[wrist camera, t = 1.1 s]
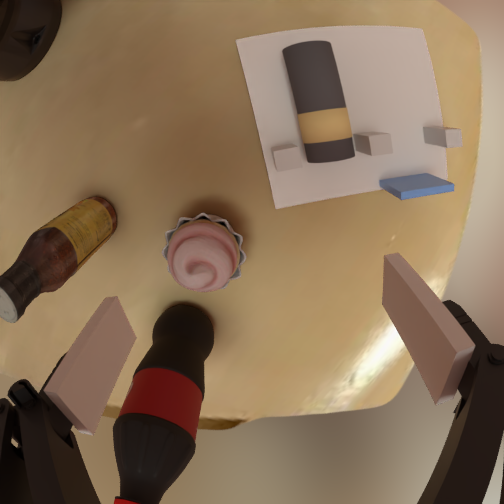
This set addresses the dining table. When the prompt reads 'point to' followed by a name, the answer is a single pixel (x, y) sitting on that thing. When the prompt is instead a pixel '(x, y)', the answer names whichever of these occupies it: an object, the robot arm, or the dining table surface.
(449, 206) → the dining table surface
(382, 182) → the white base plate
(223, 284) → the cupcake
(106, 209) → the sauce bottle
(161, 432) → the cola bottle
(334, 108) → the banded cylinder post
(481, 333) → the robot arm
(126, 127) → the dining table surface
